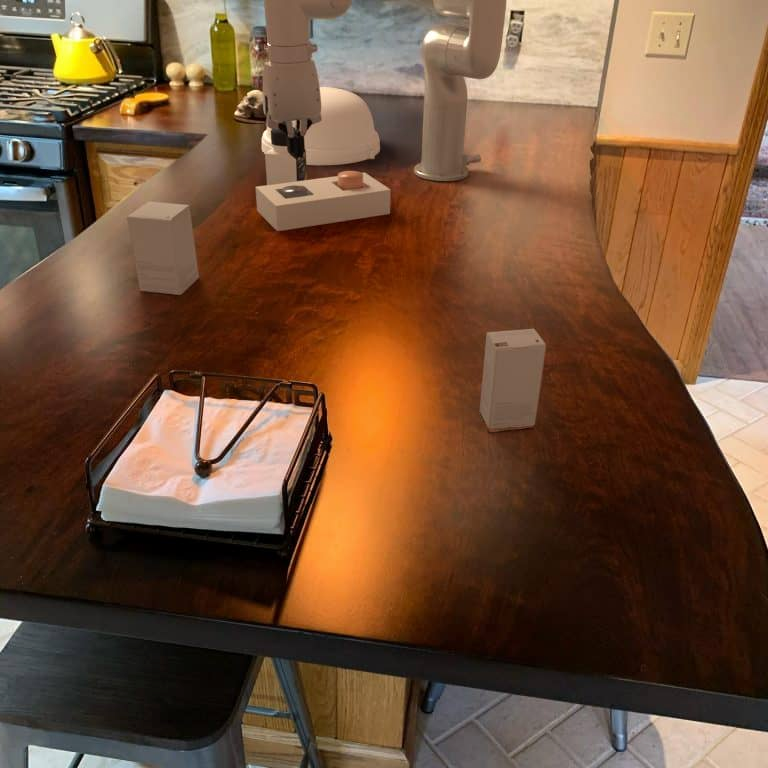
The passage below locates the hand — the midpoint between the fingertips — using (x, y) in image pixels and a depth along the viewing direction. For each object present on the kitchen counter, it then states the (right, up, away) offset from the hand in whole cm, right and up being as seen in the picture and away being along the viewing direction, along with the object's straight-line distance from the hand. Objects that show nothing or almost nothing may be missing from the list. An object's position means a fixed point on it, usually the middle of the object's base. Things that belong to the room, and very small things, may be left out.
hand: (296, 156), depth 147 cm
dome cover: (+1, +16, +48) cm, 51 cm away
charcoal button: (-1, -9, +5) cm, 10 cm away
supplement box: (-18, -27, -21) cm, 39 cm away
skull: (-20, +32, +72) cm, 81 cm away
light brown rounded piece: (+10, -5, +9) cm, 14 cm away
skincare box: (+32, -49, -52) cm, 78 cm away
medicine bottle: (-5, +1, +24) cm, 25 cm away
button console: (+5, -9, +8) cm, 13 cm away
